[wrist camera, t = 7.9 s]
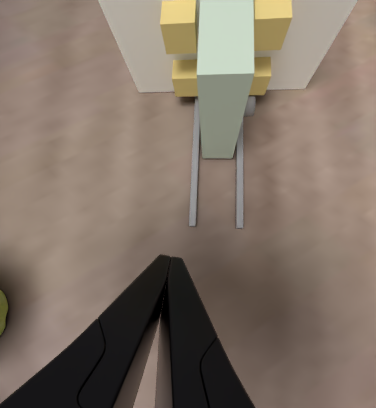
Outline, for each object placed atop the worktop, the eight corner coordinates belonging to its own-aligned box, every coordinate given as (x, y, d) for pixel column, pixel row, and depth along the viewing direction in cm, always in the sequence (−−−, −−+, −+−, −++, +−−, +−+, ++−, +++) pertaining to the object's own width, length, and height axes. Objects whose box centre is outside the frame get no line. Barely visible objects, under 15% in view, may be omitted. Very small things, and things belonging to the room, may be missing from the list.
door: (242, 158, 22) (274, 72, 11) (202, 158, 22) (196, 74, 12) (242, 88, 24) (270, -46, 13) (205, 89, 24) (202, -40, 13)
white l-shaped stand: (313, 231, 20) (431, 211, 10) (125, 224, 22) (46, 200, 11) (298, -2, 26) (363, -182, 15) (147, 7, 27) (109, -148, 17)
